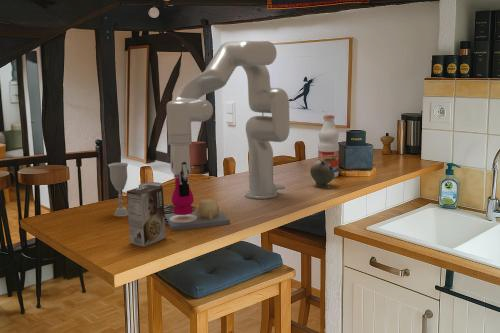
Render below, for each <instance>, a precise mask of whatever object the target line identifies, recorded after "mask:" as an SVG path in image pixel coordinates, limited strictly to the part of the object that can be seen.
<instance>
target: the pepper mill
mask: <svg viewBox="0 0 500 333" xmlns="http://www.w3.org/2000/svg"><path fill="white" fill-rule="evenodd" d="M172 169H173V163H172ZM187 171H188V170H187ZM180 174H181V175H183V173H180ZM189 177H190V174H189V175H188V178H189ZM173 178H175V179H174V181H175V180H176V185H175V187H174V190H173V193H172V195H171V203H172V205H174V207H173V214H176V215H188V214H191V213H192V212H194V209H193V208H194V207H193V206H192V204H194V201H195V199H194V195H193V194H194V193H193V191H192V190H191V188H190V187H189V196H184V197H180V196H179V184H180V182H179V175H178V176H175V175H174V174H173ZM181 179H182V177H181Z"/></svg>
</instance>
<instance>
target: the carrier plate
mask: <svg viewBox="0 0 500 333" xmlns="http://www.w3.org/2000/svg"><path fill="white" fill-rule="evenodd" d="M164 215H165V217H166V218H167V220H168V223H167V225H168V226H169V228H170V229H171V231H172V232H175V231H185V230H192V229H193V230H194V229H200V228H208V227H209V228H210V227H219V226H226V225H227V226H228V225H231V219H229V217H228V216H226V214H224V213H223V212H222V210H221V209H220V206H219V205H218V201H217V200H216V199H212V198H211V199H210V198H208V199H206V198H205V199H201V200H199V201H198V207H197V208H196V210H195V211H193V212H192V213H191V214H188V215H185V216H184V215H176V214H174V213H170V214H169V213H166V214H164Z"/></svg>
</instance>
